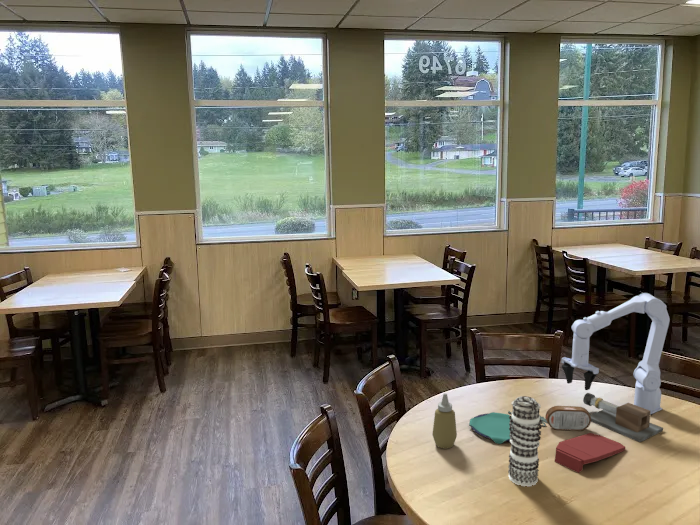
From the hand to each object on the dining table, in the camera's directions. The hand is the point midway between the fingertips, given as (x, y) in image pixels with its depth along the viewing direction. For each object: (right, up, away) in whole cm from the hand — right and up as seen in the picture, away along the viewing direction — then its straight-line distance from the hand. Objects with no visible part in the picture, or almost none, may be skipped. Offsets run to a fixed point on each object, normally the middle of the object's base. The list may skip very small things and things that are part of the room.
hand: (578, 386), depth 208 cm
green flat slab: (-30, -12, -12) cm, 34 cm away
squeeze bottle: (-55, -14, -24) cm, 62 cm away
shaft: (+8, -8, -8) cm, 14 cm away
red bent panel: (-10, -15, -31) cm, 36 cm away
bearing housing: (+11, -11, -13) cm, 20 cm away
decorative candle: (-35, -18, -45) cm, 59 cm away
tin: (-10, -12, -15) cm, 22 cm away
